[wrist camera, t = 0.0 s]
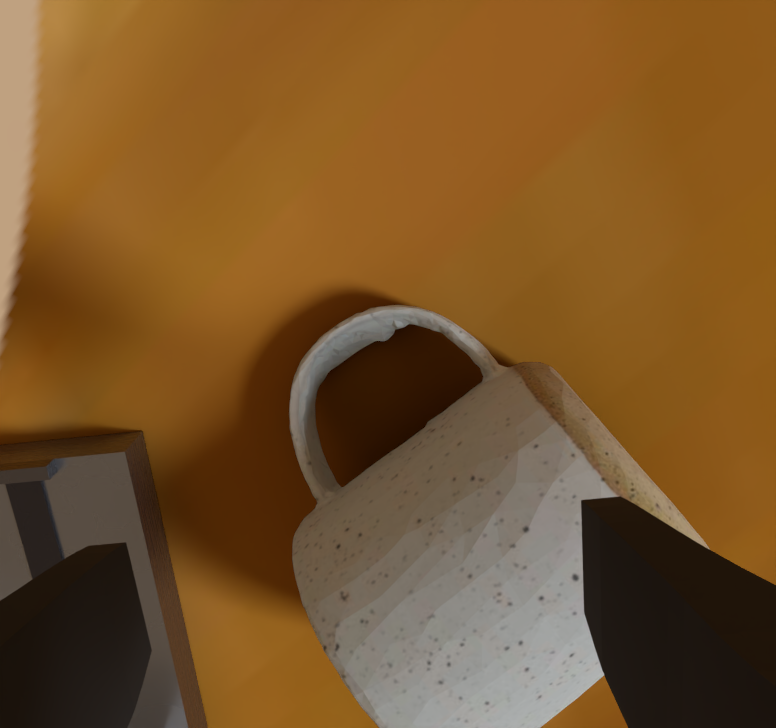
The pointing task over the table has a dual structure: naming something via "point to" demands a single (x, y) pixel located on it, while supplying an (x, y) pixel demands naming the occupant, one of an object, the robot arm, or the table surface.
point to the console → (96, 527)
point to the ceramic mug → (460, 542)
